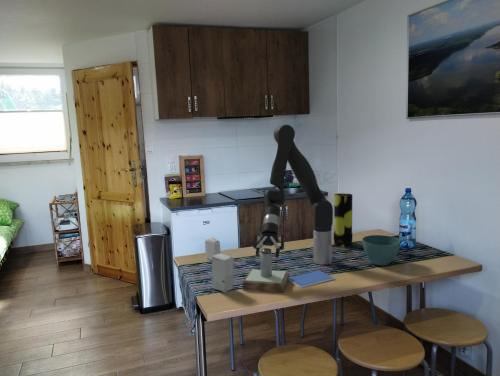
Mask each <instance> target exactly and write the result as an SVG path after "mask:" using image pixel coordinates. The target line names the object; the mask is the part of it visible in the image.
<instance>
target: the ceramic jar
mask: <svg viewBox="0 0 500 376" xmlns="http://www.w3.org/2000/svg"><path fill="white" fill-rule="evenodd" d="M272 253H273V252H272V249H271V248H267V247H266V248H265V247H264V248H261V249H260V270H261V276H262V277H266V278H267V277H271V276H272V270H273V257H272V256H273V255H272Z"/></svg>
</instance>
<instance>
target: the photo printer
mask: <svg viewBox="0 0 500 376" xmlns="http://www.w3.org/2000/svg"><path fill="white" fill-rule="evenodd" d="M204 246H205V247H204V248H205V258H206V259H207V260H209V261H211V262H212V256H214V255H217V254H221V241H220V240H219V239H217V238H216V237H214V236H208V237H206V238H205V240H204Z"/></svg>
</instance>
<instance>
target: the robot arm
mask: <svg viewBox="0 0 500 376" xmlns="http://www.w3.org/2000/svg"><path fill="white" fill-rule="evenodd" d="M295 137H296V132H295V129H294V127H293V126H292V125H290V124H283V125H279V126H277V127H276V128H275V130H274V131H273V138H274V140H275V142H276V143H277V144H276V145H277V148H276V149H277V150H276V153H275V157H274V160H273V164H272V167H271V171H270V179H269V184H270V185H272V186H275V187H277V188H278V190H275V189H274V190H273V189H266V190H265V191H264V194H263V201H264V207H265V209H264V211H265V212H264V217H263V222H262V229H261V235H260V236H259V235H256V234H255V235H254V237H253V243H252V247H253V249H255V256H256V257H257V258H260V254H261V249H263V247H264V246H265V247H273V246H274V248H275V255H274V257H275V258H276V259H278V257H279V256H280V252H281V250H282V251H284V250H285V237H284V235H281V236H279V229H280V228H279V227H280V213H281V209H280V207H279V206H283V204H284V203H285V201H286V196H285V187H284V186H285V179H286V178H285V177H286V171H287V165H288V164H289V165H288V166H289V167H290V169H291V170H292V173H293V175H294V176H295V178H296V180H297V182H298V184H299V185H300V187H301V188H302V190H303V191H304V192H305V195H306V196H307V199H308V201H309V203H310V206H311V209H312V212H313V213H314V223H313V226H312V227H313V228H312V229H313V233H312V234H313V236H312V240H313V242H312V243H313V247H312V249H313V250H312V251H313V258H312V260H313V263H314V264H316V265H320V266H321V265H323V266H325V265H332V261H333V260H332V259H333V257H332V256H333V252H332V251H333V247H332V245H333V243H332V240H333V239H332V237H333V236H332V231H333V230H332V229H333V225H334V207H333V204H332V202H330V201H329V200H327V198H326V197H325V195H324V194H323V192H322V190H321V189H320V187H319V183H318V180H317V177H316V175H315V172H314V169H313V168H312V166H311V164H310V162H309V160H308V159H307V157H305V156H304V155H303V153H302V152H301V151H300V149H298V147H297V145H296V143H295V141H294V140H295ZM278 241H279V242H280V246H279V244H278V243H277V242H278ZM258 242H259V243H258ZM279 258H280V257H279Z"/></svg>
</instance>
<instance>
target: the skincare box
mask: <svg viewBox="0 0 500 376" xmlns="http://www.w3.org/2000/svg"><path fill="white" fill-rule="evenodd" d="M211 288H212V289H214V290H217V291H220V292H223V293H226V292H229V291H231V290H233V289H234V257H233V256H230V255H228V254H223V253H220V254H217V255H214V256H212V261H211Z"/></svg>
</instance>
